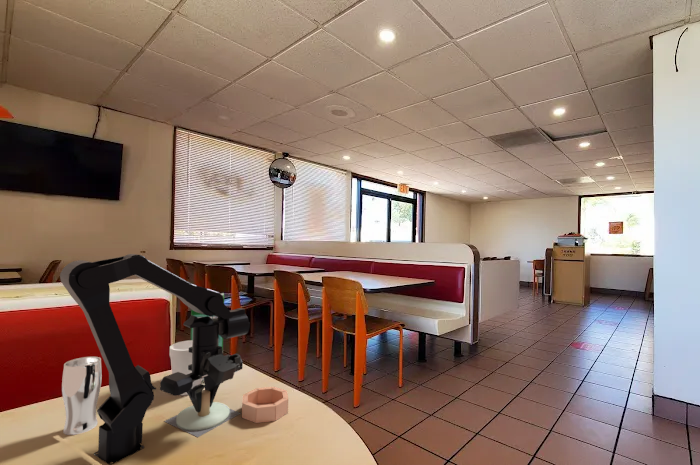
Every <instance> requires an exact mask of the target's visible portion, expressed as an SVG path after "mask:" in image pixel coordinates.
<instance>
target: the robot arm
mask: <svg viewBox="0 0 700 465" xmlns="http://www.w3.org/2000/svg"><path fill="white" fill-rule="evenodd" d="M131 276H134V277H137V278H139V279H141V280H142V281H145V282H146V283H149V284H151V285H153V286H154V287H157V288H158V289H161V290H163V291H165V292H166V293H169V294H170V295H173V296H175V297H176V298H178V299H179V300H180V301H181V302H182V303H183V304H184V305H185V306H186V307H188V308H189V309H192V310H193V311H195V312H198V313H201V314H204V315H207V316H206V317H200V318H197V317H196V316H193V315H191V314H190V317H189V318H188V319H187V320H186V321H184V322H183V326H185V327H187V328H189V329H191V328H193V344H192V347H190V348H189V352H190V353H192V364H191V365H188V370H191V371H192V373H190V374H187V375H185V374H183V373H180V372H176V373H174V374H172V373H171V374H168V375H166V376H163V377H162V378H161V380H160V383H159V384H160V386H159V390H160V391H161V392H163V393H167V394H168V395H170V396H174V397H176V396H182V395H181V394H183V393H185V392H187V394H188V395H187V396H188V397H189V399H190V402H191V403H192V405H193V406H194V408H195V410H196V412H198V413H199V412H200V411H201V401H202V390H209V391H210V407H211V406H212V403H213V402H214V400H215V397H216V395H217V392H218V390H219V387H220V385H221V384H223V383H224V382H226V381H229V380H232V379H233V378H234V375H235V373H236V372H238V371H239V372H240V371H241V370H243V363H244V362H243V360H242V357H241V355H240V354H239V353H234V354H225V355H224V348H223V349H222V347H221V346H218V341H219V335H220V336H221V337H222V338H223V340H227V339H232V338H236V337H241V336H245V335H247V334H248V333H249V331H250V328H251V323H250V320H249V317H248V316H247V314H246V309H245V308H242V307H239V308H238V307H237V308H236V309H230V310H229V308H228V307H227V305H226V304H225V299H224V300H223V296H222V294H221V293H220V292H219V291H216V290H212V289H210V288H207V287H204V286H199V285H196V284H193V283H191V282H189V281H187V280H185V279H184V278H182V277H179V275H176V274H174V273H172V272H171V271H169V270H167V269H165V268H163V267H162V266H160V265H158V264H156V263H154V262H152V261H151V260H149V259H148V258H147V257H146V256H144V255H143V254H138V253H137V254H135V253H128V254H125V255H123V256H119V257H112V258H108V259H107V258H106V259H100V260H96V261H88V260H79V259H77V260H74V261H71V262H69V263H67V264H66V265H65V266H64V267H63V268H62V270H61V272H60V274H59V278H60V283H62V284H61V285H63V286H64V288H65V289H66V291H67V292H68V293H69V295H70V296H71V298H72V299H73V300H74V301H75V302H76V304H77V305H78V306H79V308H80V309H81V310H82V312H83V314H84V316H85V318H86V321H87V323H88V325H89V328H90V330H91V333H92V335H93V337H94V340H95V342H96V345H97V347H98V350H99V352H100V355H101V357H102V359H103V362H104V364H105V366H106V369H107V371H108V389H109V394H110V395H109V396H108V397H107V399H106V400H105V401H104V402H103V403H101V405H100V406H99V407H98V408H97V409H96V413H97V414H98V417H99V419H100V420H102V421H103V424H101V425H99V426H98V446H97V448H98V450H97V451H95V452H94V453H93V455H94V456H95V457H97V459H98V458H99V460H101V461H103V462H104V463H105V464H107V465H114V464H116V463H118V462H120V461H122V460H125V459H126V458H128V457H130V456H132V455H134V454H136V453H138V452H140V451H141V450H143V449H145V446H144V445H142V443H143V431H144V430H143V424H144V423H143V420H144V419H145V416H146V412H147V410H148V409H149V407H150V406H151V405H152V403H153V401H154V399H155V395H154V391H155V390H156V389H157V387H156V386H154V384H153V383H152V378H151V374H150V372H149V371H148V370H146V369H145V368H143V366H140V365H139V364H137V365H136V366H134V362H133V360H132V358H131V355H130V353H129V350H128V347H127V345H126V342H125V340H124V337H123V335H122V333H121V330H120V327H119V325H118V322H117V320H116V317H115V315H114V312H113V310H112V307H111V303H110V300H111V299H110V297H111V296H110V295H111V294H110V291H111V290H110V288H111V287H110V284H113V283H116V282H119V281H122V280H124V279H127V278H129V277H131ZM208 316H217V317H218V318H214V319H211V318H210V317H208ZM203 377H204V380H203V381H204V382H203V383H204V384H202V381H201V379H202V378H203Z"/></svg>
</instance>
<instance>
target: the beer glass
mask: <svg viewBox="0 0 700 465" xmlns="http://www.w3.org/2000/svg"><path fill="white" fill-rule="evenodd" d="M102 377H103V375H102V358H101V357H100V356H99V357H98V356H82V357H79V358H74V359H71V360H68V361H66V362H65V363H64V364H63V371H62V379H61V381H62V382H61V395H62V401H63V405H64V410H65V423H64V425H63V431H62V433H63V434H64V435H68V436H75V435H80V434H84V433H86V432H87V433H88V432H90V431H91V430H93V429H95V428H96V427H97V426H98V418H97V405H98V400H99V396H100V392H101V387H102Z"/></svg>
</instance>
